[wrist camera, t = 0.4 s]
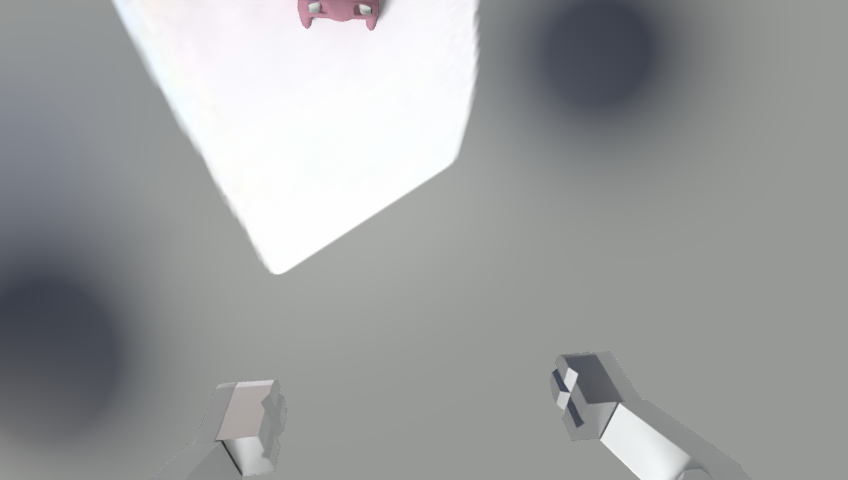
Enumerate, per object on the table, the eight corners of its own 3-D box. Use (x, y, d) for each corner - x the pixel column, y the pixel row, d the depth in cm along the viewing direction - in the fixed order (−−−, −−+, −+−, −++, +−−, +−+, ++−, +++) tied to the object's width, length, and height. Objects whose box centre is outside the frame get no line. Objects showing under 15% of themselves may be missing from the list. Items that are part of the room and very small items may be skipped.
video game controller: (374, -9, 49) (382, -15, 43) (375, 30, 51) (384, 30, 45) (295, -14, 47) (293, -21, 41) (300, 28, 49) (299, 27, 43)
